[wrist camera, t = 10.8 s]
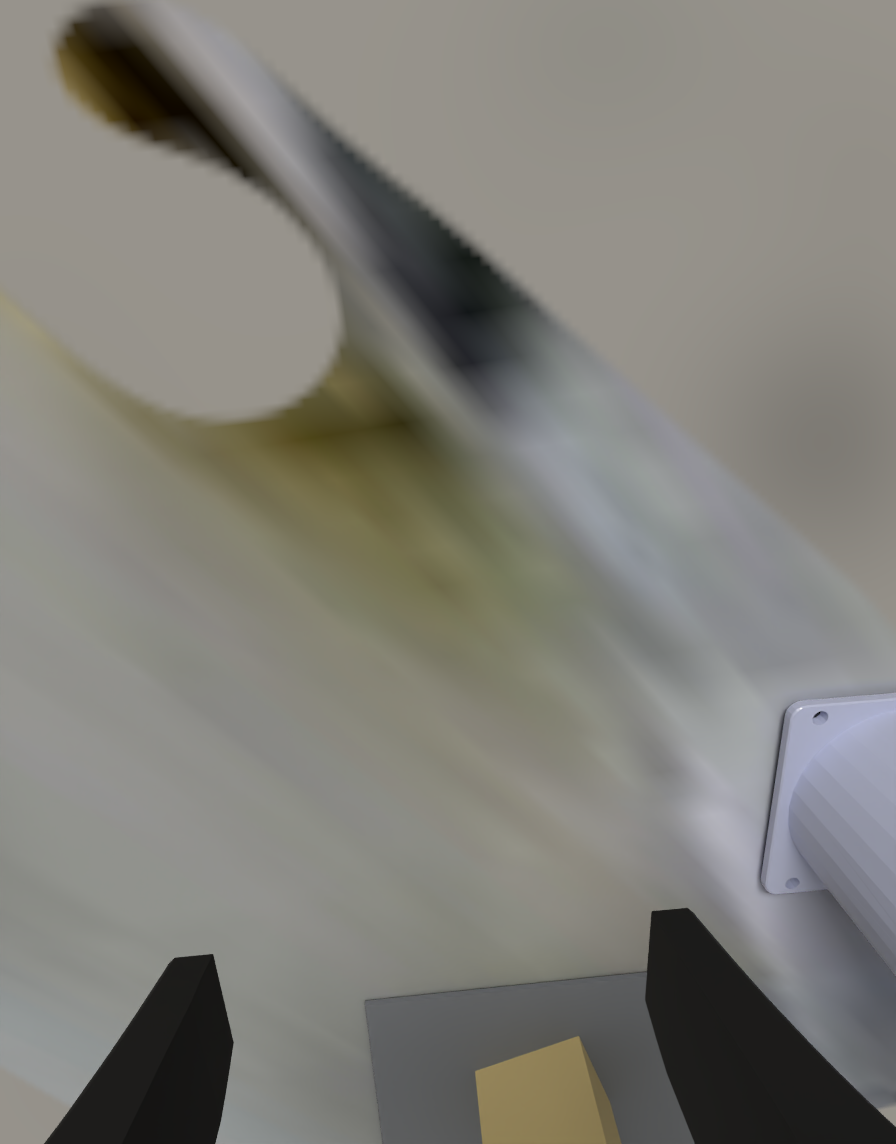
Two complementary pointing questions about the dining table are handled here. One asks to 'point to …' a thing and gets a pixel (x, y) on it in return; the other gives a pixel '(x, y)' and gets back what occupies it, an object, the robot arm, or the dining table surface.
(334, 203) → the dining table surface
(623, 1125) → the placemat
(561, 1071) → the block
